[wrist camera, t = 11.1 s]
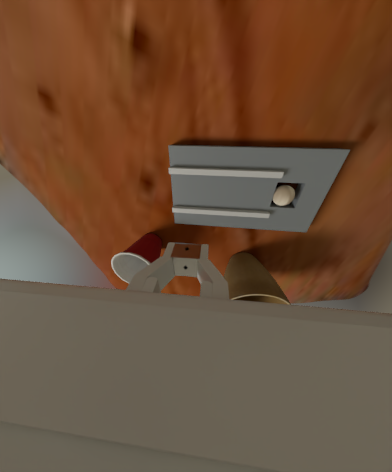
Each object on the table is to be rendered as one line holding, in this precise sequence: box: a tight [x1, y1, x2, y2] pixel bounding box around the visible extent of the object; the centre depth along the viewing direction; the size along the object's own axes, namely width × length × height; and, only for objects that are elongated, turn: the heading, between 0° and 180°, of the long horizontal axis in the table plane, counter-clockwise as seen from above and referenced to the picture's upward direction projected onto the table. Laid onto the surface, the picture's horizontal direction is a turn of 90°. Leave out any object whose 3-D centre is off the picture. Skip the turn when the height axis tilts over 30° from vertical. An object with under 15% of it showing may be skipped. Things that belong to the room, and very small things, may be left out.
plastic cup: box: [111, 233, 162, 283], centre depth 38 cm, size 11×11×12 cm
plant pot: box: [224, 252, 291, 305], centre depth 37 cm, size 15×15×16 cm
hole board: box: [169, 145, 350, 232], centre depth 30 cm, size 16×30×4 cm, turn 89°
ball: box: [272, 185, 295, 206], centre depth 29 cm, size 4×4×4 cm
